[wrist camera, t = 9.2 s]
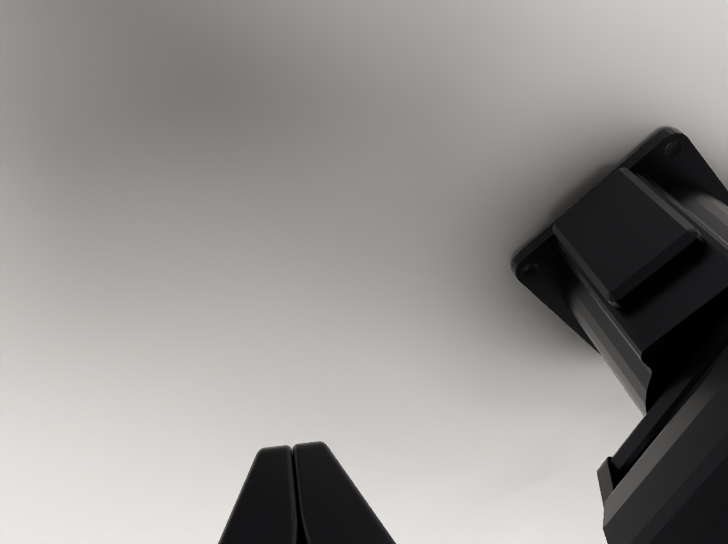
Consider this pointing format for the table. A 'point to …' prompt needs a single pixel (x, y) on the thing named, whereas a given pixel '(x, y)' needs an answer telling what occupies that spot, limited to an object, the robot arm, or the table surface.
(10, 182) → the table surface
